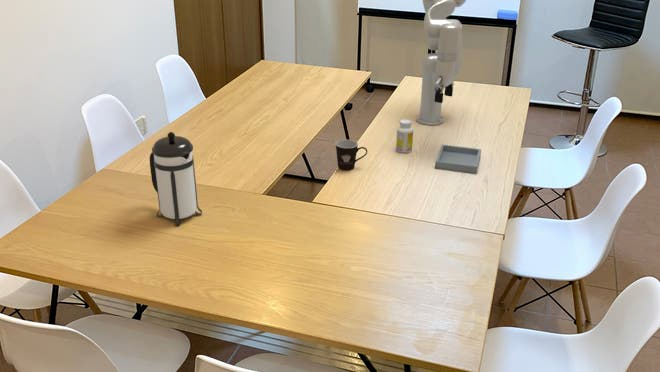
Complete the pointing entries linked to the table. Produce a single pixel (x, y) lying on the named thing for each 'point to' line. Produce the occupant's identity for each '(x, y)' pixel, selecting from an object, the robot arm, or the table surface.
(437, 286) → the table surface
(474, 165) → the tray
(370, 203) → the table surface
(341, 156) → the coffee mug
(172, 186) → the coffee press
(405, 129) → the supplement bottle
